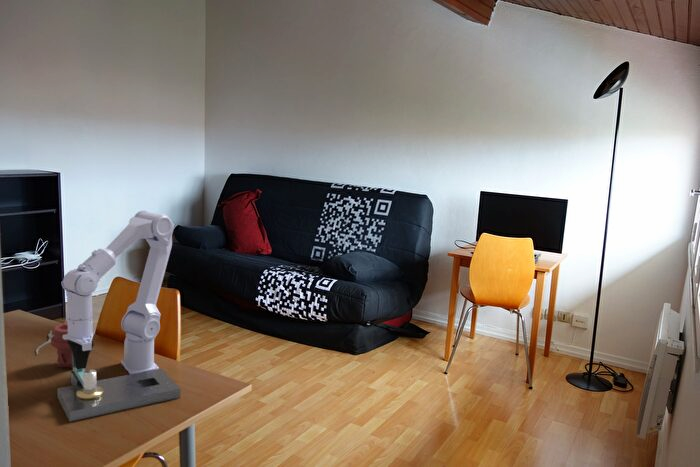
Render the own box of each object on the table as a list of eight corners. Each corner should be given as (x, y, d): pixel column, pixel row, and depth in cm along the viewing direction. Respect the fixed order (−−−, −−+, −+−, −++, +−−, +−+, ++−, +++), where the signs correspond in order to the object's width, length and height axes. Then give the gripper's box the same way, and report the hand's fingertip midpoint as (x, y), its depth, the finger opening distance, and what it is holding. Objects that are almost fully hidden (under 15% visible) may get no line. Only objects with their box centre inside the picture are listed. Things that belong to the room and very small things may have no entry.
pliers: (37, 355, 170) (27, 333, 186) (37, 358, 170) (27, 336, 186) (73, 350, 175) (61, 329, 191) (74, 352, 176) (61, 331, 191)
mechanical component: (76, 355, 173) (98, 364, 168) (43, 366, 164) (66, 375, 159) (75, 314, 171) (98, 322, 166) (42, 323, 162) (65, 331, 157)
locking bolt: (72, 370, 155) (71, 352, 154) (81, 368, 156) (81, 350, 155) (83, 388, 145) (82, 369, 144) (93, 386, 146) (93, 367, 146)
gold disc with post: (74, 400, 145) (73, 370, 144) (100, 395, 149) (99, 365, 148) (79, 410, 141) (79, 379, 139) (106, 405, 144) (106, 374, 143)
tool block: (52, 386, 152) (51, 374, 152) (153, 367, 168) (153, 356, 167) (69, 422, 136) (69, 408, 135) (180, 397, 151) (180, 385, 151)
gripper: (56, 310, 152) (57, 360, 155) (69, 328, 141) (70, 381, 143) (86, 307, 157) (86, 356, 159) (100, 324, 145) (100, 376, 148)
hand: (80, 367), depth 152 cm, fingers closed
